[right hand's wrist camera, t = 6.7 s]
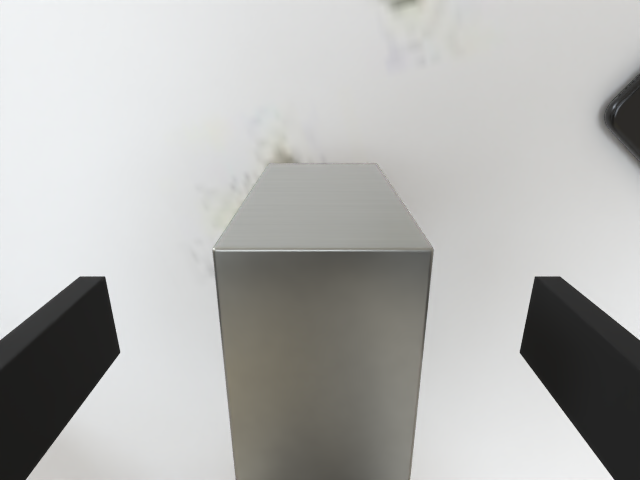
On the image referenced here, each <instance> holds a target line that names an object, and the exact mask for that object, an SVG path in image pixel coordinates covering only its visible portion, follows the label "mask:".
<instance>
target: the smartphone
mask: <svg viewBox="0 0 640 480" xmlns="http://www.w3.org/2000/svg"><path fill="white" fill-rule="evenodd" d="M604 118H605V123H606V125H607V127H608V128H609V130H610V131H611V132H612V133H613V134H614V135H615V136H616V137H617V138H618V139H619V140H620V142H621V143H622V144H623V145H624V146H625V147H626V148H627V149H628V150H629V151H630V152H631V153H632V154H633V155H634V156H635V157H636V158H637V160H638V161H639V162H640V74H639V75H638V76H637V77H636V78H635V79H634V80H633V81H632V82H631V83H630V84H629V85H628V86H627V87H626V88H625V89H624V90H623V91H622V92H621V93H620V94H619V95H618V96H616V97H615V98H614V99H613V101H612V102H611V103H610V104H609V106H608V107H607V109H606V111H605V117H604Z"/></svg>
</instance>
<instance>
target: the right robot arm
mask: <svg viewBox="0 0 640 480" xmlns="http://www.w3.org/2000/svg"><path fill="white" fill-rule="evenodd" d="M119 354H120V349H119V344H118V339H117V334H116V329H115V324H114V319H113V314H112V309H111V304H110V299H109V294H108V289H107V284H106V279H105V277H79V278H78V279H76V280H75V281H74V282H73V283H71V284H70V285H69V286H68V287H66V288H65V289H64V290H63V291H61V292H60V293H59V294H58V295H56V296H55V297H54V298H53V299H51V300H50V301H49V302H48V303H46V304H45V305H44V306H43V307H41V308H40V309H39V310H38V311H36V312H35V313H34V314H33V315H31V316H30V317H29V318H28V319H26V320H25V321H24V322H23V323H21V324H20V325H19V326H18V327H16V328H15V329H14V330H13V331H11V332H10V333H9V334H8V335H6V336H5V337H4V338H3V339H1V340H0V480H26V479H27V477H28V476H29V474H30V473H31V472H32V470H33V469H34V468H35V466H36V465H37V464H38V462H39V461H40V460H41V458H42V457H43V456H44V454H45V453H46V452H47V450H48V449H49V448H50V446H51V445H52V444H53V442H54V441H55V440H56V438H57V437H58V436H59V434H60V433H61V432H62V430H63V429H64V427H65V426H66V425H67V423H68V422H69V421H70V419H71V418H72V417H73V415H74V414H75V413H76V411H77V410H78V409H79V407H80V406H81V405H82V403H83V402H84V401H85V399H86V398H87V397H88V395H89V394H90V393H91V391H92V390H93V389H94V387H95V386H96V385H97V383H98V382H99V380H100V379H101V378H102V376H103V375H104V374H105V372H106V371H107V370H108V368H109V367H110V366H111V364H112V363H113V362H114V360H115V359H116V358H117V356H118V355H119ZM520 354H521V355H522V356H523V358H524V359H525V360H526V362H527V363H528V364H529V366H530V367H531V368H532V370H533V371H534V372H535V374H536V375H537V376H538V378H539V379H540V380H541V382H542V383H543V385H544V386H545V387H546V389H547V390H548V391H549V393H550V394H551V395H552V397H553V398H554V399H555V401H556V402H557V403H558V405H559V406H560V407H561V409H562V410H563V411H564V413H565V414H566V415H567V417H568V418H569V419H570V421H571V422H572V423H573V425H574V426H575V427H576V429H577V430H578V432H579V433H580V434H581V436H582V437H583V438H584V440H585V441H586V442H587V444H588V445H589V446H590V448H591V449H592V450H593V452H594V453H595V454H596V456H597V457H598V458H599V460H600V461H601V462H602V464H603V465H604V466H605V468H606V469H607V470H608V472H609V473H610V474H611V476H612V477H613V479H614V480H640V340H639V339H637V338H636V337H635V336H634V335H632V334H631V333H630V332H629V331H627V330H626V329H625V328H624V327H622V326H621V325H620V324H619V323H617V322H616V321H615V320H614V319H612V318H611V317H610V316H609V315H607V314H606V313H605V312H604V311H602V310H601V309H600V308H599V307H597V306H596V305H595V304H594V303H592V302H591V301H590V300H589V299H587V298H586V297H585V296H584V295H582V294H581V293H580V292H579V291H577V290H576V289H575V288H574V287H572V286H571V285H570V284H569V283H567V282H566V281H565V280H564V279H562V278H561V277H535V279H534V284H533V289H532V294H531V299H530V304H529V309H528V314H527V319H526V324H525V329H524V334H523V339H522V344H521V349H520Z"/></svg>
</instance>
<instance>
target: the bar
mask: <svg viewBox="0 0 640 480" xmlns="http://www.w3.org/2000/svg"><path fill="white" fill-rule="evenodd" d="M212 251H213V261H214V271H215V281H216V290H217V300H218V310H219V320H220V330H221V340H222V349H223V359H224V369H225V379H226V389H227V399H228V408H229V418H230V428H231V438H232V448H233V458H234V467H235V477H236V480H410V475H411V466H412V456H413V446H414V437H415V427H416V417H417V407H418V398H419V388H420V378H421V368H422V359H423V349H424V339H425V330H426V320H427V310H428V300H429V291H430V281H431V271H432V262H433V252H434V250H433V247H432V246H431V244H430V243H429V241H428V240H427V238H426V237H425V235H424V234H423V232H422V231H421V229H420V228H419V226H418V225H417V223H416V222H415V220H414V219H413V217H412V216H411V214H410V213H409V211H408V210H407V208H406V207H405V205H404V204H403V202H402V201H401V199H400V198H399V196H398V195H397V193H396V192H395V190H394V189H393V187H392V186H391V184H390V183H389V181H388V180H387V178H386V177H385V175H384V174H383V172H382V171H381V169H380V168H379V166H378V165H377V164H376V163H270V164H268V166H267V167H266V169H265V170H264V172H263V173H262V175H261V176H260V178H259V179H258V181H257V182H256V184H255V185H254V187H253V188H252V190H251V191H250V193H249V194H248V196H247V197H246V199H245V200H244V202H243V204H242V205H241V207H240V208H239V210H238V211H237V213H236V214H235V216H234V217H233V219H232V220H231V222H230V223H229V225H228V226H227V228H226V229H225V231H224V232H223V234H222V235H221V237H220V238H219V240H218V241H217V243H216V244H215V246H214V247H213V250H212Z"/></svg>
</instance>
